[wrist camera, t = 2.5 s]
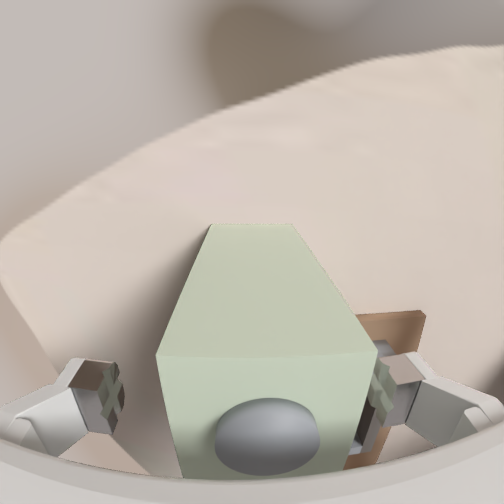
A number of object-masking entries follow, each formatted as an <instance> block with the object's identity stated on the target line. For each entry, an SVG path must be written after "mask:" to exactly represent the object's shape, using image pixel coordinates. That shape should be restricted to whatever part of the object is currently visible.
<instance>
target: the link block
mask: <svg viewBox="0 0 504 504" xmlns="http://www.w3.org/2000/svg"><path fill="white" fill-rule="evenodd" d="M377 353H378V350H377V348H376V347H375V345H374V343H373V342H372V340H371V339H370V337H369V336H368V334H367V333H366V331H365V330H364V328H363V326H362V325H361V323H360V322H359V320H358V319H357V317H356V316H355V314H354V313H353V311H352V310H351V308H350V307H349V305H348V304H347V302H346V301H345V299H344V298H343V296H342V295H341V293H340V292H339V290H338V289H337V287H336V286H335V284H334V283H333V282H332V280H331V279H330V277H329V276H328V274H327V273H326V271H325V270H324V268H323V267H322V266H321V264H320V263H319V261H318V260H317V258H316V257H315V255H314V254H313V253H312V251H311V250H310V248H309V247H308V245H307V244H306V243H305V241H304V240H303V238H302V237H301V236H300V234H299V233H298V231H297V230H296V229H295V227H294V226H293V224H211V226H210V229H209V231H208V233H207V235H206V237H205V240H204V242H203V244H202V246H201V249H200V251H199V253H198V255H197V258H196V260H195V262H194V265H193V267H192V269H191V271H190V274H189V276H188V278H187V281H186V283H185V285H184V288H183V290H182V292H181V295H180V297H179V299H178V302H177V304H176V307H175V309H174V311H173V314H172V316H171V319H170V321H169V324H168V326H167V328H166V331H165V333H164V336H163V338H162V341H161V343H160V346H159V348H158V351H157V353H156V361H157V366H158V372H159V377H160V382H161V387H162V392H163V397H164V402H165V407H166V411H167V416H168V420H169V425H170V429H171V433H172V438H173V442H174V446H175V450H176V453H177V457H178V461H179V465H180V469H181V472H182V476H183V478H185V479H204V480H254V479H274V478H287V477H298V476H307V475H315V474H323V473H330V472H336V471H342V470H343V468H344V465H345V463H346V460H347V457H348V454H349V451H350V448H351V445H352V442H353V439H354V436H355V433H356V430H357V427H358V424H359V421H360V417H361V414H362V411H363V407H364V404H365V400H366V397H367V393H368V389H369V386H370V382H371V378H372V374H373V370H374V366H375V362H376V358H377Z"/></svg>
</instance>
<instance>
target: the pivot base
mask: <svg viewBox="0 0 504 504" xmlns="http://www.w3.org/2000/svg"><path fill="white" fill-rule="evenodd" d="M355 316H356V317H357V319H358V320H359V322H360V323H361V325H362V326H363V328H364V330H365V331H366V333H367V334H368V336H369V337H370V339H371V340H372V342H373V343H374V345H375V347H376V348H377V350H378V353H377V358H379V357H386V356H393V355H400V354H403V353H409V352H414V351H415V352H417V349H418V346H419V342H420V338H421V335H422V331H423V327H424V323H425V319H426V315H425V314H424V313H423V312H422V311H421V310H416V311H404V312H391V313H376V314H360V315H355ZM373 374H374V372H373ZM373 374H372V375H373ZM376 411H377V409H376V408H374V407H372V406H371V405H370V403H369V401H368V397H366V400H365V404H364V407H363V411H362V414H361V417H360V421H359V424H358V427H357V430H356V433H355V436H354V439H353V442H352V445H351V448H350V451H349V454H348V457H347V460H346V463H345V465H344V468H343V470H348V469H354V468H359V467H364V466H369V465H374V464H375V463H376V461H377V459H378V457H379V455H380V452H381V450H382V448H383V445H384V443H385V441H386V438H387V436H388V434H389V431H390V429H391V426H390V427H385V428H382V426H381V424H380V422H379V420H378V418H377V417H376V415H375V414H376Z"/></svg>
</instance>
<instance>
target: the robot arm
mask: <svg viewBox="0 0 504 504" xmlns="http://www.w3.org/2000/svg"><path fill="white" fill-rule="evenodd" d="M373 372H374V374H373V375H372V378H371V382H370V386H369V389H368V393H367V397H368V401H369V403H370V405H371V406H372V407H374V408H376V409H377V411H376V414H375V415H376V417H377V418H378V420H379V422H380V424H381V426H382V428H385V427H390V426H395V425H401V424H405V423H406V424H405V425H406V426H408V427H409V428H411V429H412V430H414V431H415V432H417V433H418V434H420V435H421V436H423V437H424V438H426V439H427V440H428V441H430V442H431V443H433V444H434V445H436V446H437V447H436V448H433V449H430V450H427V451H424V452H420V453H417V454H413V455H410V456H406V457H403V458H399V459H395V460H391V461H387V462H383V463H378V464H374V465H369V466H364V467H359V468H354V469H348V470H342V471H336V472H330V473H323V474H315V475H307V476H298V477H287V478H274V479H254V480H204V479H184V478H171V477H161V476H151V475H143V474H136V473H129V472H122V471H116V470H111V469H105V468H100V467H95V466H91V465H86V464H82V463H77V462H73V461H69V460H65V459H61V458H58V456H59V455H60V454H62V453H63V452H64V451H66V450H67V449H68V448H70V447H71V446H72V445H73V444H75V443H76V442H77V441H78V440H80V439H81V438H82V437H83V436H85V435H86V434H87V433H88V431H91V432H97V433H104V434H113V432H114V429H115V427H116V424H117V421H118V419H117V416H116V414H118V413H119V412H121V411H122V408H123V405H124V397H125V396H124V388H123V384H122V383H121V382H120V381H119V380H118V379H117V377H118V375H119V369H118V365H117V364H116V363H115V362H110V361H102V360H94V359H86V358H78V357H74V358H71V360H70V361H69V362H68V364H67V365H66V367H65V368H64V369H63V371H62V372H61V374H60V375H59V377H58V378H57V380H56V381H55V383H54V384H53V385H52V384H48V385H46V386H44V387H42V388H40V389H37V390H35V391H33V392H31V393H29V394H27V395H25V396H23V397H21V398H19V399H16V400H14V401H12V402H10V403H8V404H5V405H3V406H1V407H0V504H504V406H503V404H502V403H501V402H500V401H499V400H498V399H497V398H496V397H493V396H490V395H488V394H485V393H483V392H480V391H478V390H475V389H473V388H470V387H468V386H465V385H463V384H460V383H458V382H455V381H453V380H450V379H448V378H445V377H443V376H441V377H438V376H437V375H436V373H435V372H434V371H433V370H432V369H431V367H430V366H429V365H428V364H427V363H426V362H425V360H424V359H423V358H422V357H421V356H420V355H419V354H418V353H417V352H415V351H414V352H409V353H403V354H400V355H393V356H386V357H379V358H376V362H375V366H374V370H373Z"/></svg>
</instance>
